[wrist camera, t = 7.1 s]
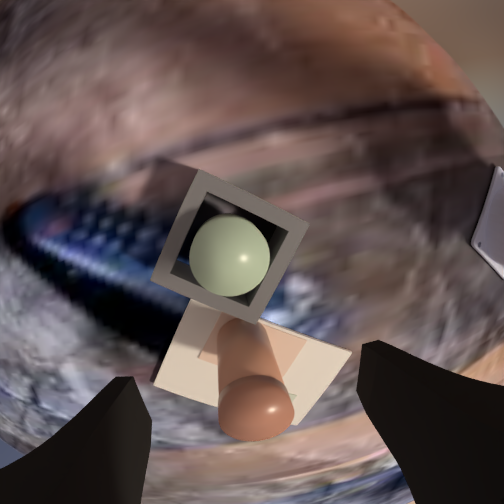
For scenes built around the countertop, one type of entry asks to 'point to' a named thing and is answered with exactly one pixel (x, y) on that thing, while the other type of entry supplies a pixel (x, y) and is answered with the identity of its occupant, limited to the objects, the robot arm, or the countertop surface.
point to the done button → (229, 255)
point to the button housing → (279, 246)
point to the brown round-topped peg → (250, 384)
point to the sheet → (284, 347)
